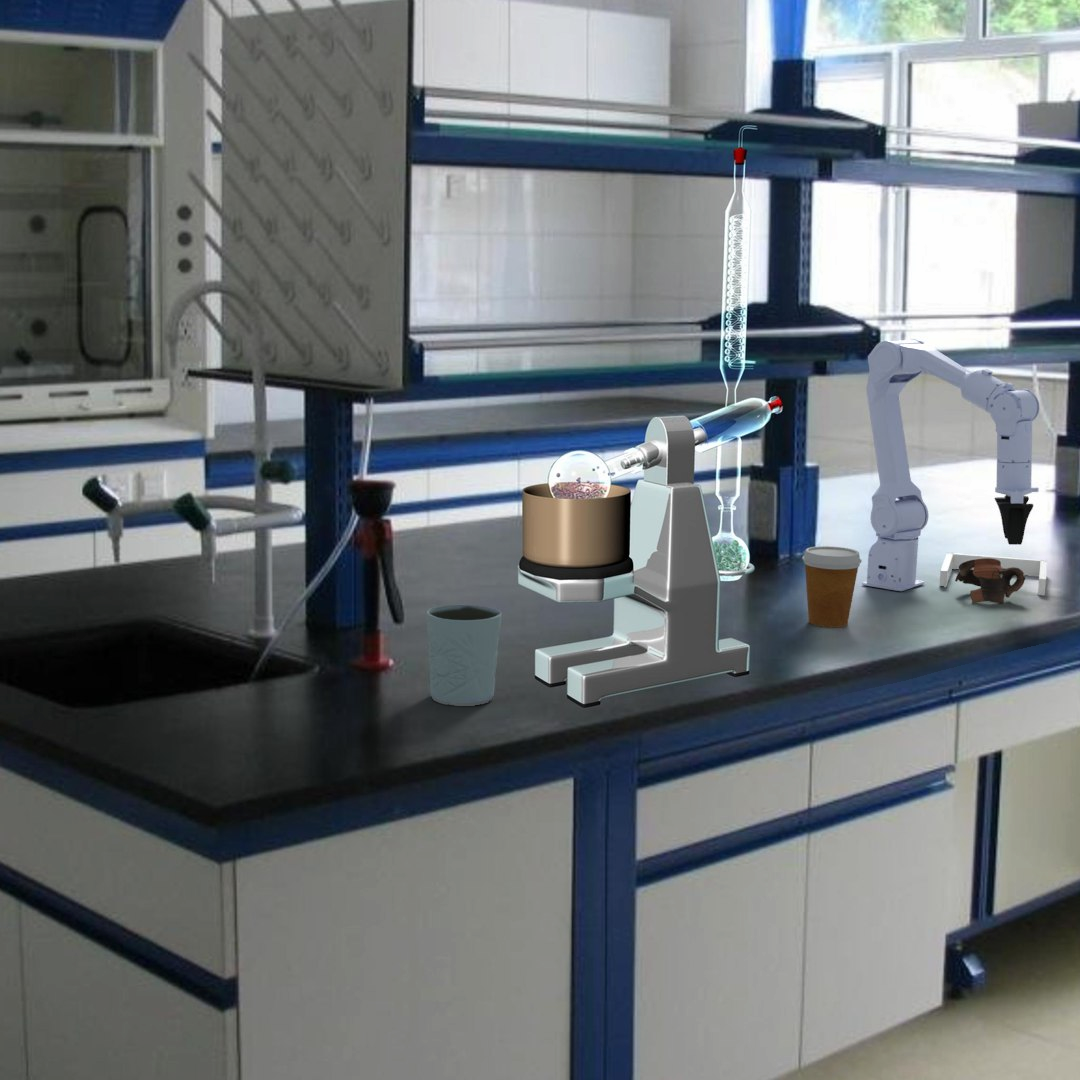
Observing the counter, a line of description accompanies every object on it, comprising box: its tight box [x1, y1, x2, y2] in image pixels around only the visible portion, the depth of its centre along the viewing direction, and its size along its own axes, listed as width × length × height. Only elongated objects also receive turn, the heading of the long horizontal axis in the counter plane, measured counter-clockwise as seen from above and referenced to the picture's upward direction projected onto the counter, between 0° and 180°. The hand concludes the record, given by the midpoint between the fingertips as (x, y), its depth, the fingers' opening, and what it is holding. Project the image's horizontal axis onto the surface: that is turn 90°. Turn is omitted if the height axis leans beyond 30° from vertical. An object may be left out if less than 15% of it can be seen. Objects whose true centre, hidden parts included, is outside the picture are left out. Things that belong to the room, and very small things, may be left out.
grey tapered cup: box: [425, 604, 503, 703], centre depth 241 cm, size 10×10×12 cm
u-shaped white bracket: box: [939, 552, 1048, 596], centre depth 328 cm, size 18×18×3 cm
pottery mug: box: [954, 558, 1026, 604], centre depth 313 cm, size 12×10×8 cm
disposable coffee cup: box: [801, 545, 863, 628], centre depth 290 cm, size 10×10×12 cm
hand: (1013, 541), depth 303 cm, fingers open, 7 cm apart
